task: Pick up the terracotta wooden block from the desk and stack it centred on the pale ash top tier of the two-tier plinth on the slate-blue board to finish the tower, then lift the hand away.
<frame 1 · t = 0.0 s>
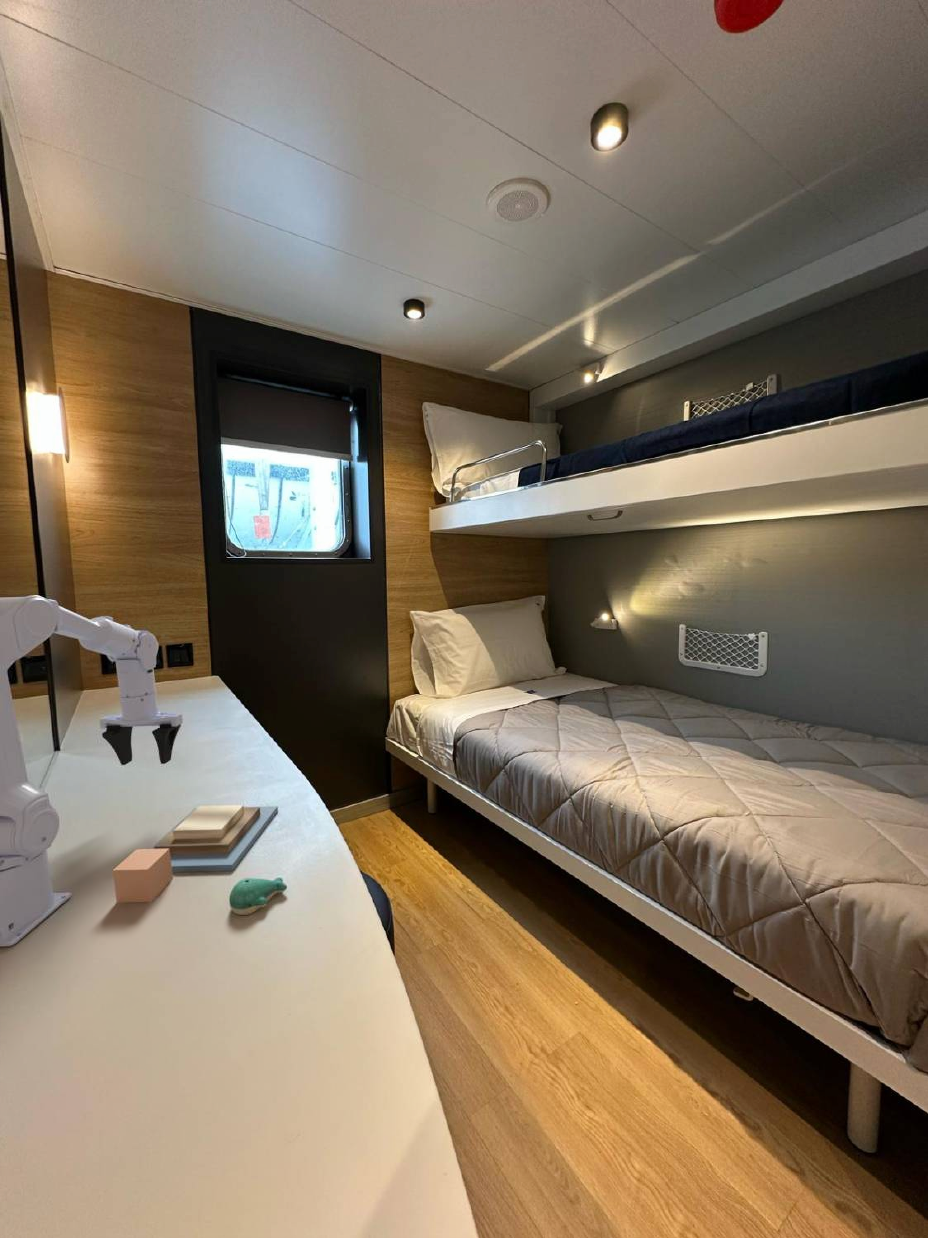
hand: (146, 762, 93), 10 cm above the table, tool pointing down, fingers open, 7 cm apart
whale figurine: (259, 903, 69), on the table
terracotta block: (145, 890, 72), on the table
plinth board: (212, 839, 85), on the table
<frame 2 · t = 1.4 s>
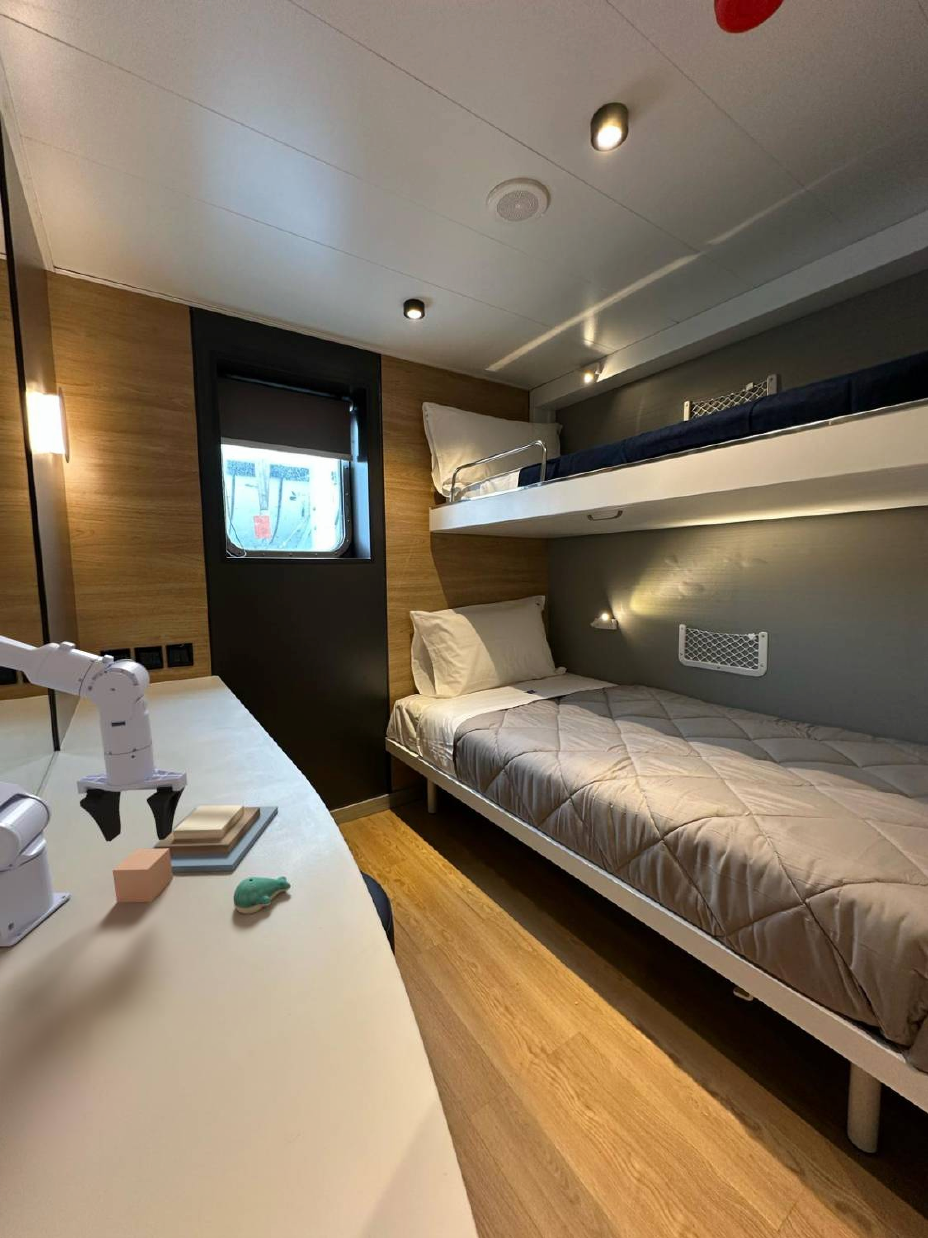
hand: (139, 837, 71), 8 cm above the table, tool pointing down, fingers open, 7 cm apart
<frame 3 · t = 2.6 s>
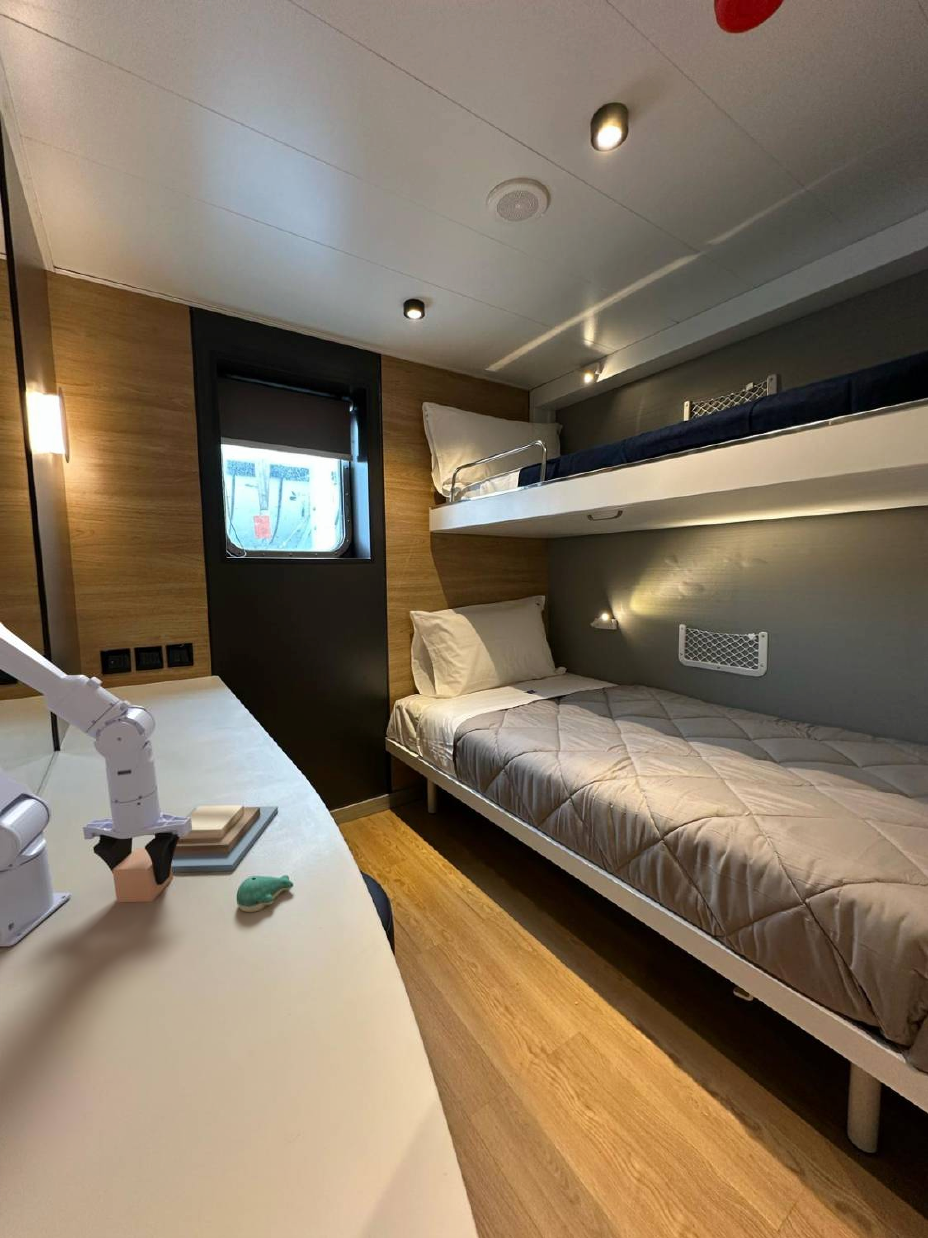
hand: (144, 881, 72), 1 cm above the table, tool pointing down, fingers closed on terracotta block, 5 cm apart
terracotta block: (145, 890, 72), on the table, touching gripper
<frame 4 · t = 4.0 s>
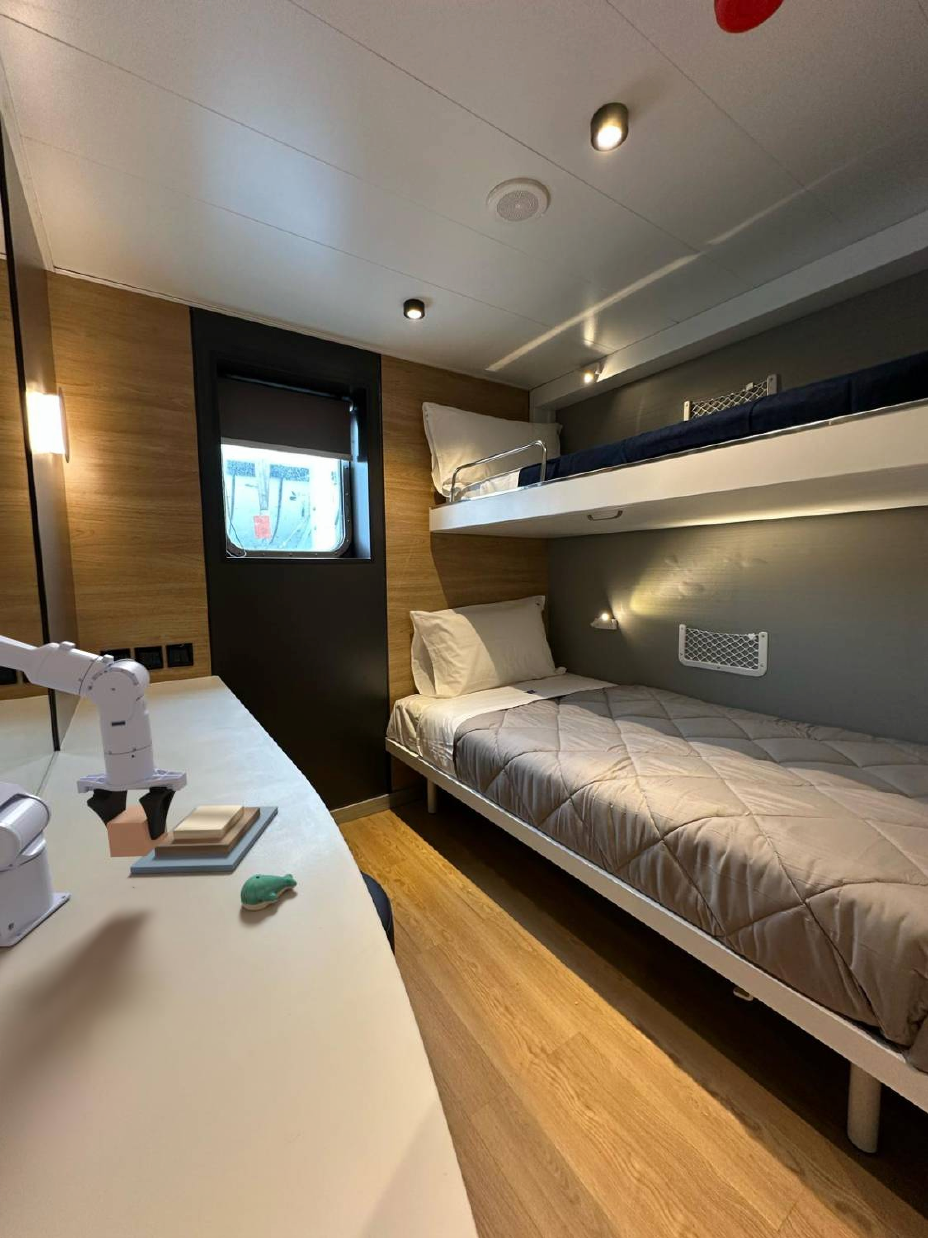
hand: (139, 836, 71), 8 cm above the table, tool pointing down, fingers closed on terracotta block, 5 cm apart
terracotta block: (140, 846, 71), point 7 cm above the table, touching gripper
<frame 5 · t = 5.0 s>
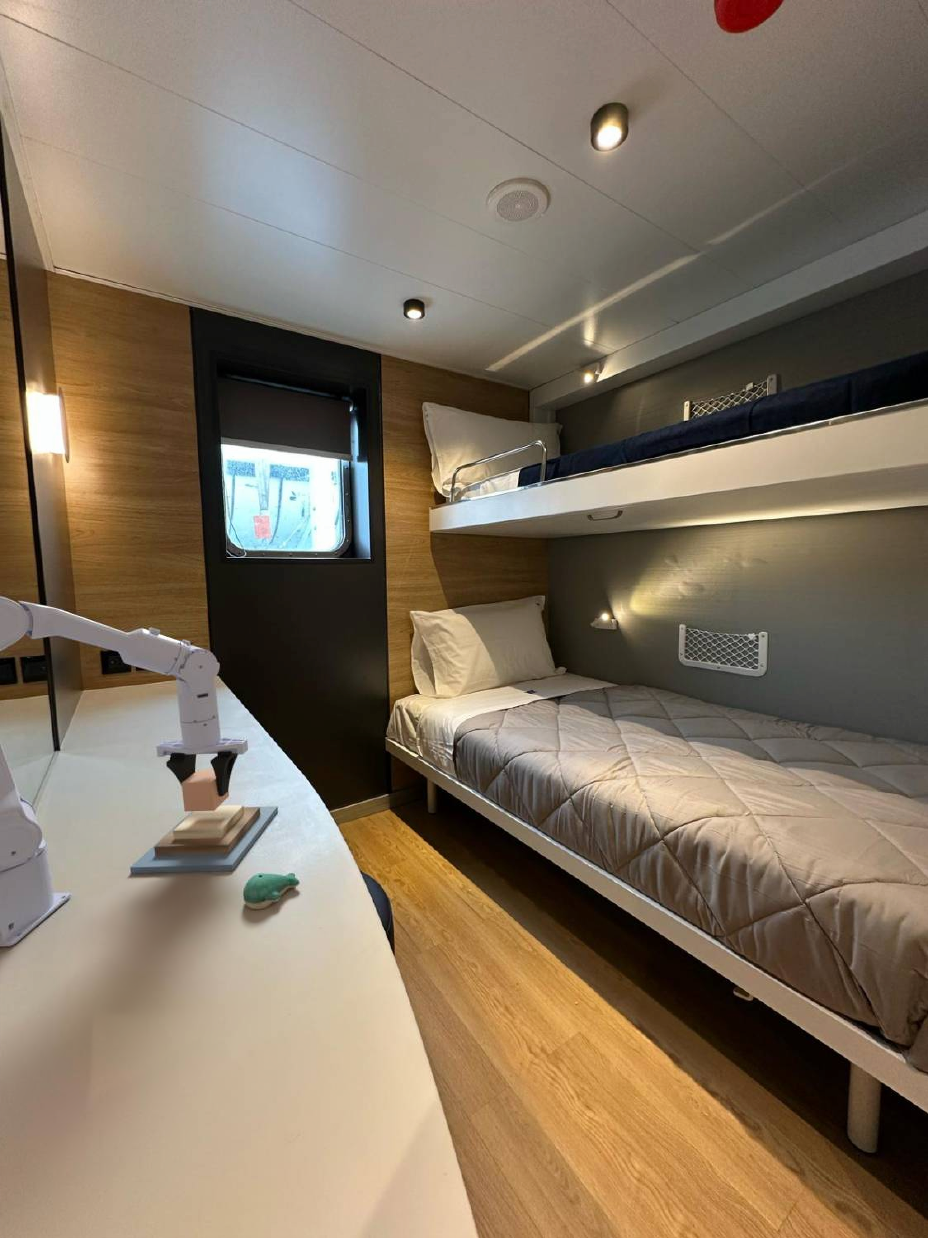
hand: (207, 794, 84), 8 cm above the table, tool pointing down, fingers closed on terracotta block, 5 cm apart
terracotta block: (207, 803, 83), point 7 cm above the table, touching gripper
when the fingers open (7 cm above the table, at t = 5.8 s): terracotta block drops 1 cm, resting on plinth board.
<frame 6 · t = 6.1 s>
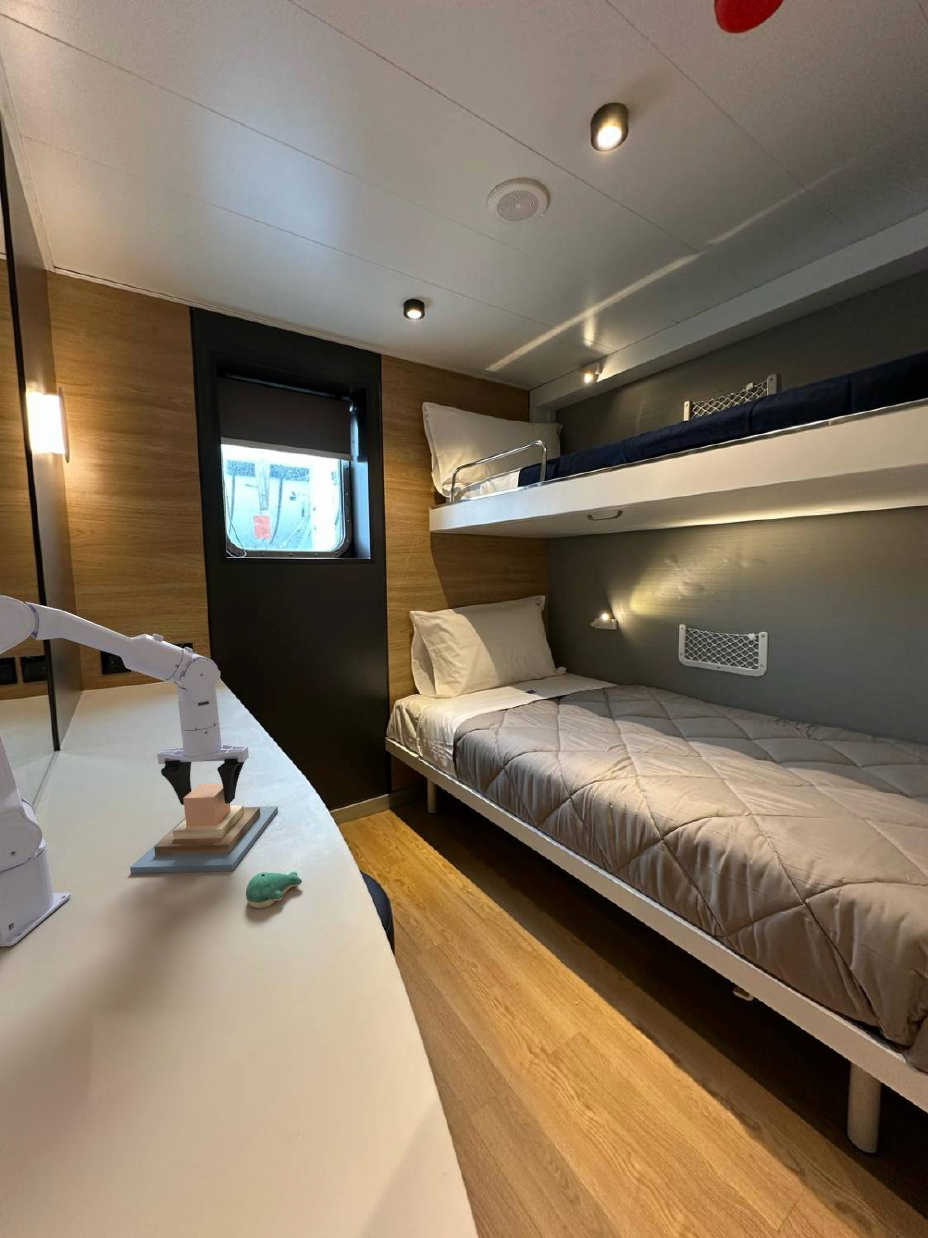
hand: (208, 801, 84), 7 cm above the table, tool pointing down, fingers open, 7 cm apart
terracotta block: (209, 818, 84), point 4 cm above the table, touching plinth board
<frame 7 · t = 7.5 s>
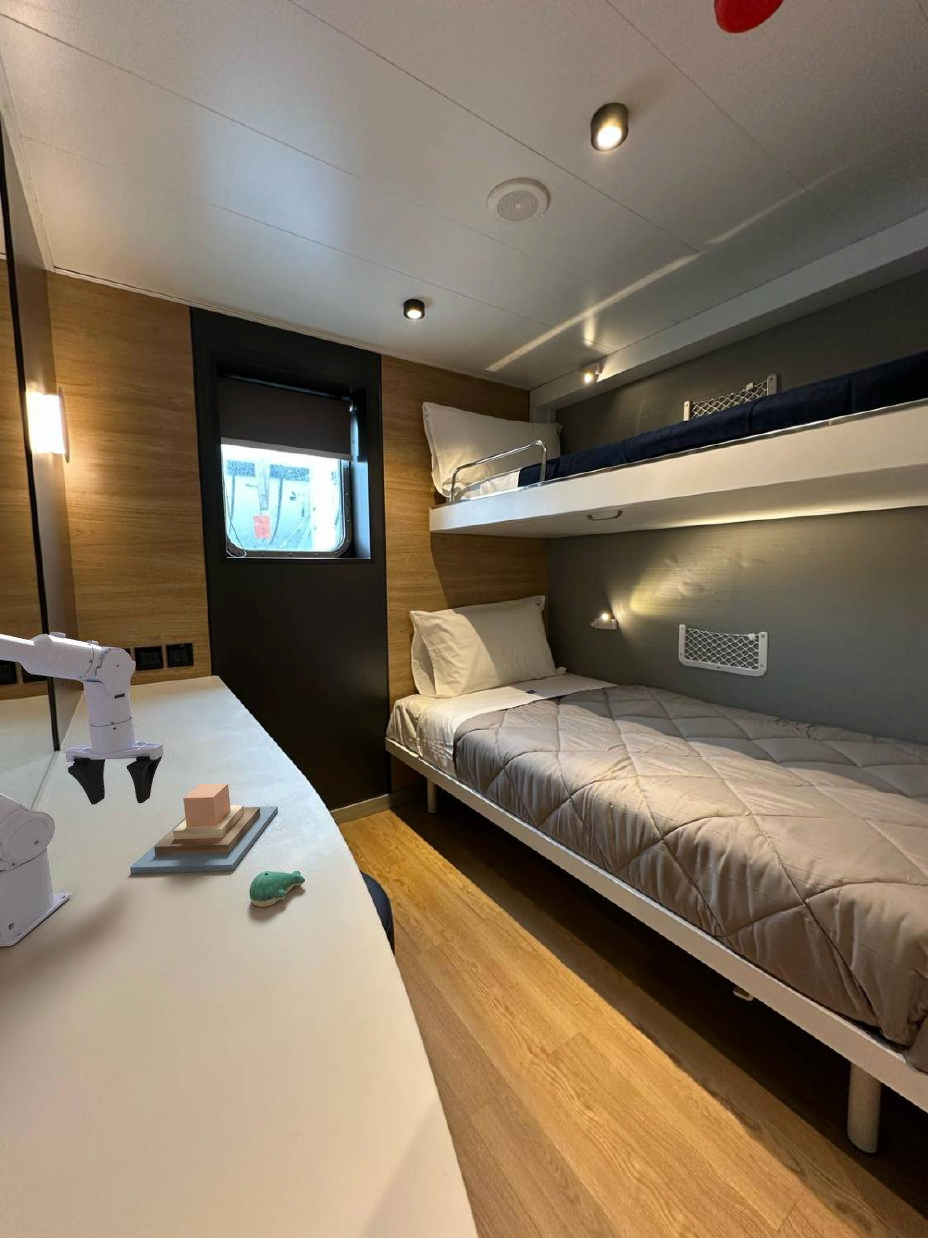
hand: (121, 801, 80), 9 cm above the table, tool pointing down, fingers open, 7 cm apart
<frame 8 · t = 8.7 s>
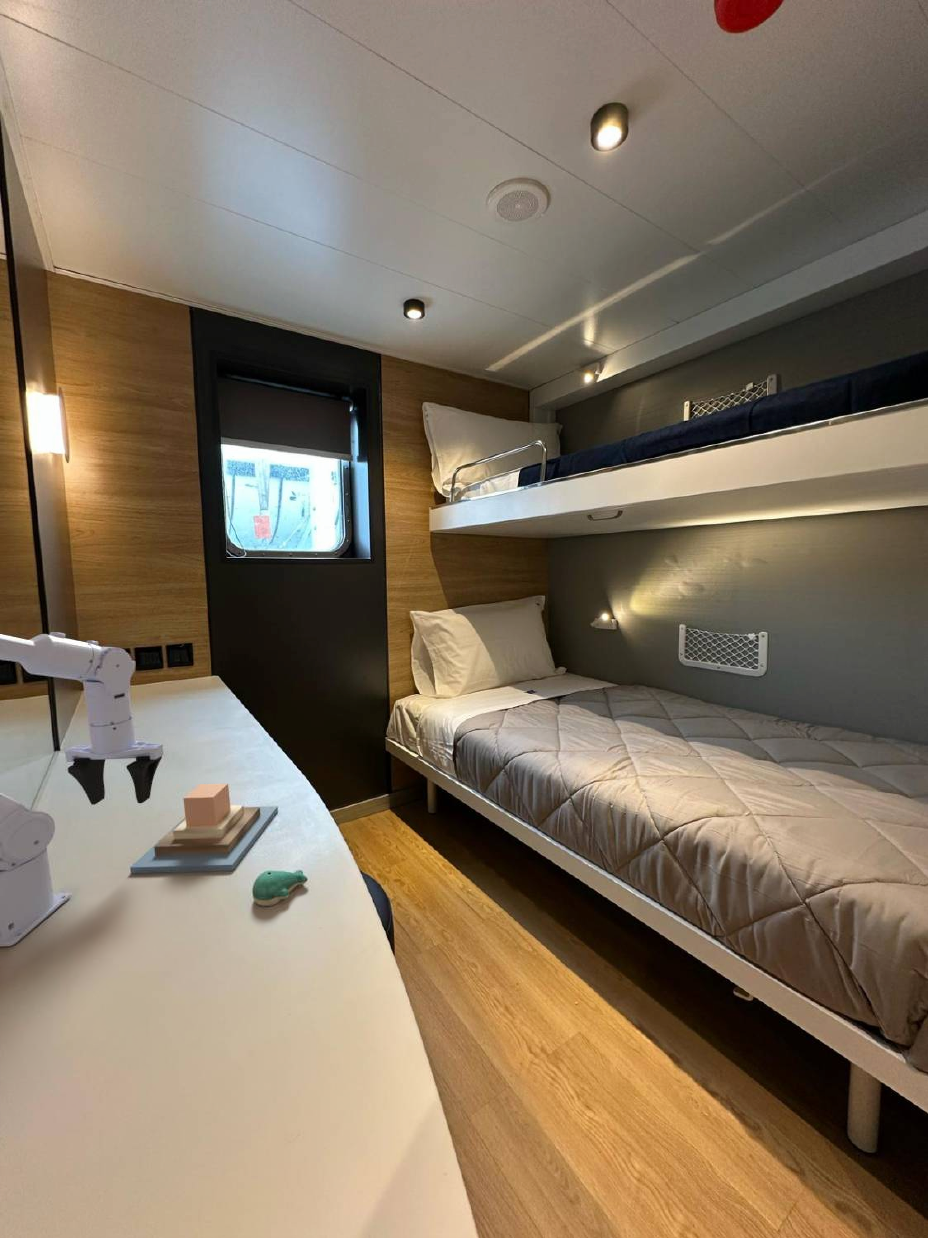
hand: (121, 801, 80), 9 cm above the table, tool pointing down, fingers open, 7 cm apart
at the end: terracotta block 0.3 cm off-centre on the plinth board, point 4.0 cm above the plinth board's base; terracotta block tilted 0°; the gripper is holding nothing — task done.
